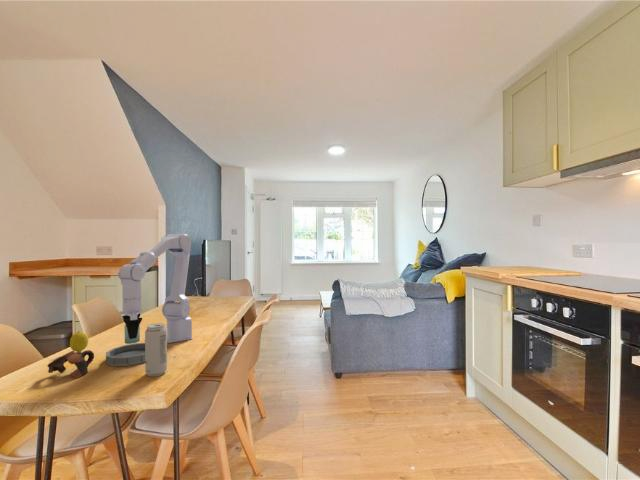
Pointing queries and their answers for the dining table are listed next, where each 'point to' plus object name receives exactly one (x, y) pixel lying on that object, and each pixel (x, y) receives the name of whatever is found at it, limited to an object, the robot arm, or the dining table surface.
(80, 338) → the lemon
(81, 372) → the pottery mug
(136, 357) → the tray
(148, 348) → the energy drink can
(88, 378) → the dining table surface
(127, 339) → the teal cup
